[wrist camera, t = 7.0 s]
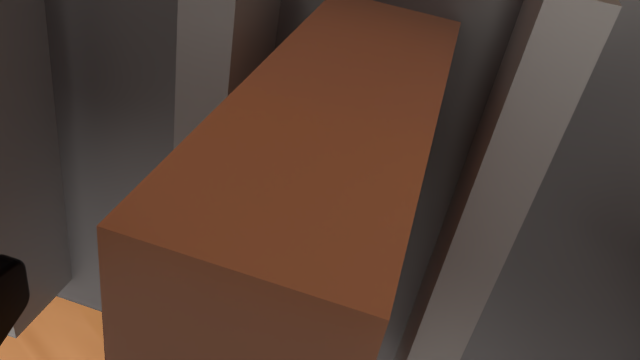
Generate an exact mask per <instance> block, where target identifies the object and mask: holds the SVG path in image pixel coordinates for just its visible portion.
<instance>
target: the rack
mask: <svg viewBox="0 0 640 360" xmlns="http://www.w3.org/2000/svg"><path fill="white" fill-rule="evenodd" d="M324 1H325V0H0V254H4V255H8V256H11V257H14V258H17V259H19V260H22V261H23V262H24V264H25V266H26V271H27V278H28V284H29V290H30V298H29V302H28V304H27V307H26V308H25V310H24V311H23V313H22V314H21V316H20V317H19V319H18V320H17V322H16V323H15V325H14V326H13V328H12V329H11V331H10V332H9V334H8V336H11V337H14V338H17V337H18V336H19V335H20V334H21V333H22V332H23V330H24V329H25V328H26V327H27V326H28V325H29V324H30V323H31V322H32V321H33V320H34V319H35V318H36V317H37V316H38V315H39V314H40V313H41V311H42V310H43V309H44V308H45V307H46V306H47V305H48V304H49V303H50V302H51V301H52V300H53V299H54V298H55V297H56V296H58V297H61V298H64V299H67V300H69V301H72V302H75V303H78V304H81V305H84V306H87V307H90V308H93V309H95V310H98V311H101V312H102V305H101V289H100V274H99V258H98V243H97V228H96V226H97V225H98V224H99V223H100V222H101V221H102V220H103V219H104V218H105V217H106V216H107V215H108V214H109V213H110V212H111V211H112V210H113V209H114V208H115V207H116V206H117V205H118V204H119V203H120V202H121V201H122V200H123V199H124V198H125V197H126V196H127V195H128V194H129V193H130V192H131V191H132V190H133V189H134V188H135V187H136V186H137V185H138V184H139V183H140V182H141V181H142V180H143V179H144V178H145V177H146V176H148V175H149V174H150V173H151V172H152V171H153V170H154V169H155V168H156V167H157V166H158V165H159V164H160V163H161V162H162V161H163V160H164V159H165V158H166V157H167V156H168V155H169V154H170V153H171V152H172V151H173V150H174V149H175V148H176V147H177V146H178V145H179V144H180V143H181V142H182V141H183V140H184V139H185V138H186V137H187V136H188V135H189V134H190V133H191V132H192V131H193V130H194V129H195V128H196V127H197V126H198V125H199V124H200V123H201V122H202V121H203V120H204V119H205V118H206V117H207V116H208V115H209V114H210V113H211V112H212V111H213V110H214V109H215V108H216V107H217V106H218V105H219V104H220V103H221V102H222V101H223V100H224V99H225V98H226V97H227V96H228V95H229V94H231V93H232V92H233V91H234V90H235V89H236V88H237V87H238V86H239V85H240V84H241V83H242V82H243V81H244V80H245V79H246V78H247V77H248V76H249V75H250V74H251V73H252V72H253V71H254V70H255V69H256V68H257V67H258V66H259V65H260V64H261V63H262V62H263V61H264V60H265V59H266V58H267V57H268V56H269V55H270V54H271V53H272V52H273V51H274V50H275V49H276V48H277V47H278V46H279V45H280V44H281V43H282V42H283V41H284V40H285V39H286V38H287V37H288V36H289V35H290V34H291V33H292V32H293V31H294V30H295V29H296V28H297V27H298V26H299V25H300V24H301V23H302V22H303V21H304V20H305V19H306V18H307V17H308V16H309V15H310V14H311V13H313V12H314V11H315V10H316V9H317V8H318V7H319V6H320V5H321V4H322V3H323V2H324ZM373 1H377V2H381V3H385V4H389V5H393V6H397V7H401V8H405V9H409V10H414V11H418V12H422V13H426V14H430V15H434V16H438V17H442V18H446V19H450V20H454V21H458V22H461V24H460V28H459V32H458V37H457V41H456V45H455V49H454V53H453V57H452V62H451V66H450V70H449V74H448V78H447V82H446V87H445V91H444V95H443V99H442V103H441V107H440V111H439V116H438V120H437V124H436V128H435V132H434V136H433V141H432V145H431V149H430V153H429V157H428V161H427V166H426V170H425V174H424V178H423V182H422V186H421V191H420V195H419V199H418V203H417V207H416V211H415V216H414V220H413V224H412V228H411V232H410V236H409V241H408V245H407V249H406V253H405V257H404V261H403V266H402V270H401V274H400V278H399V282H398V286H397V290H396V295H395V299H394V303H393V307H392V311H391V315H390V320H389V323H388V326H387V329H386V332H385V335H384V338H383V341H382V344H381V347H380V350H379V353H378V356H377V359H376V360H640V0H373Z"/></svg>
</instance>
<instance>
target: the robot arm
mask: <svg viewBox="0 0 640 360" xmlns="http://www.w3.org/2000/svg"><path fill="white" fill-rule="evenodd" d="M29 298H30V290H29V284H28V278H27V271H26V266H25V264H24V262H23V261H22V260H19V259H17V258H14V257H11V256H8V255H4V254H0V345H1V344H2V343H3V341H4V340H5V338H6V337H7V335H8V334H9V332H10V331H11V329H12V328H13V326H14V325H15V323H16V322H17V320H18V319H19V317H20V316H21V314H22V313H23V311H24V310H25V308H26V307H27V304H28V302H29Z"/></svg>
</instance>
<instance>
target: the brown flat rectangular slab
mask: <svg viewBox="0 0 640 360" xmlns="http://www.w3.org/2000/svg"><path fill="white" fill-rule="evenodd" d="M460 24H461V22H458V21H454V20H450V19H446V18H442V17H438V16H434V15H430V14H426V13H422V12H418V11H414V10H409V9H405V8H401V7H397V6H393V5H389V4H385V3H381V2H377V1H373V0H325V1H324V2H323V3H322V4H321V5H320V6H319V7H318V8H317V9H316V10H315V11H314V12H313V13H311V14H310V15H309V16H308V17H307V18H306V19H305V20H304V21H303V22H302V23H301V24H300V25H299V26H298V27H297V28H296V29H295V30H294V31H293V32H292V33H291V34H290V35H289V36H288V37H287V38H286V39H285V40H284V41H283V42H282V43H281V44H280V45H279V46H278V47H277V48H276V49H275V50H274V51H273V52H272V53H271V54H270V55H269V56H268V57H267V58H266V59H265V60H264V61H263V62H262V63H261V64H260V65H259V66H258V67H257V68H256V69H255V70H254V71H253V72H252V73H251V74H250V75H249V76H248V77H247V78H246V79H245V80H244V81H243V82H242V83H241V84H240V85H239V86H238V87H237V88H236V89H235V90H234V91H233V92H232V93H231V94H229V95H228V96H227V97H226V98H225V99H224V100H223V101H222V102H221V103H220V104H219V105H218V106H217V107H216V108H215V109H214V110H213V111H212V112H211V113H210V114H209V115H208V116H207V117H206V118H205V119H204V120H203V121H202V122H201V123H200V124H199V125H198V126H197V127H196V128H195V129H194V130H193V131H192V132H191V133H190V134H189V135H188V136H187V137H186V138H185V139H184V140H183V141H182V142H181V143H180V144H179V145H178V146H177V147H176V148H175V149H174V150H173V151H172V152H171V153H170V154H169V155H168V156H167V157H166V158H165V159H164V160H163V161H162V162H161V163H160V164H159V165H158V166H157V167H156V168H155V169H154V170H153V171H152V172H151V173H150V174H149V175H148V176H146V177H145V178H144V179H143V180H142V181H141V182H140V183H139V184H138V185H137V186H136V187H135V188H134V189H133V190H132V191H131V192H130V193H129V194H128V195H127V196H126V197H125V198H124V199H123V200H122V201H121V202H120V203H119V204H118V205H117V206H116V207H115V208H114V209H113V210H112V211H111V212H110V213H109V214H108V215H107V216H106V217H105V218H104V219H103V220H102V221H101V222H100V223H99V224H98V225H97V226H96V228H97V243H98V258H99V274H100V289H101V305H102V320H103V335H104V351H105V360H376V359H377V356H378V353H379V350H380V347H381V344H382V341H383V338H384V335H385V332H386V329H387V326H388V323H389V320H390V315H391V311H392V307H393V303H394V299H395V295H396V290H397V286H398V282H399V278H400V274H401V270H402V266H403V261H404V257H405V253H406V249H407V245H408V241H409V236H410V232H411V228H412V224H413V220H414V216H415V211H416V207H417V203H418V199H419V195H420V191H421V186H422V182H423V178H424V174H425V170H426V166H427V161H428V157H429V153H430V149H431V145H432V141H433V136H434V132H435V128H436V124H437V120H438V116H439V111H440V107H441V103H442V99H443V95H444V91H445V87H446V82H447V78H448V74H449V70H450V66H451V62H452V57H453V53H454V49H455V45H456V41H457V37H458V32H459V28H460Z"/></svg>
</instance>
